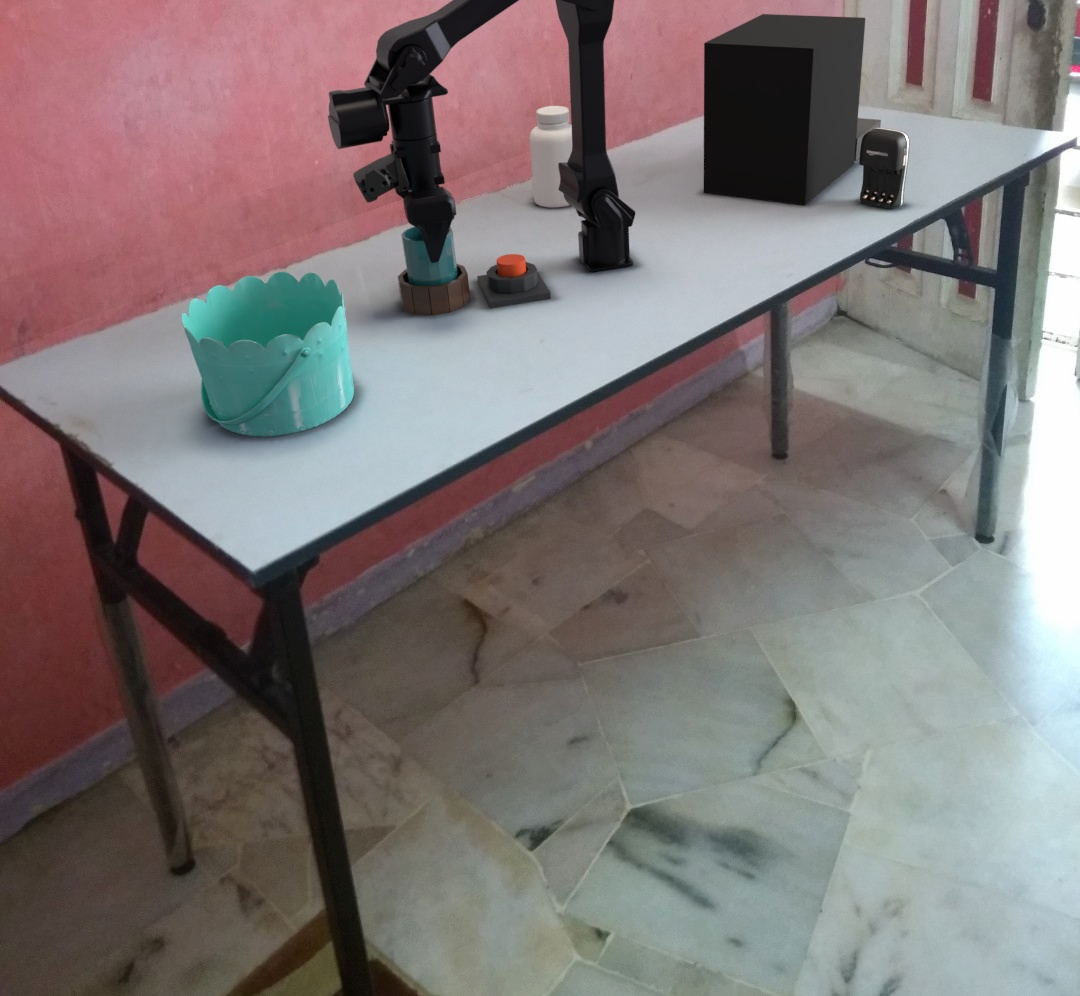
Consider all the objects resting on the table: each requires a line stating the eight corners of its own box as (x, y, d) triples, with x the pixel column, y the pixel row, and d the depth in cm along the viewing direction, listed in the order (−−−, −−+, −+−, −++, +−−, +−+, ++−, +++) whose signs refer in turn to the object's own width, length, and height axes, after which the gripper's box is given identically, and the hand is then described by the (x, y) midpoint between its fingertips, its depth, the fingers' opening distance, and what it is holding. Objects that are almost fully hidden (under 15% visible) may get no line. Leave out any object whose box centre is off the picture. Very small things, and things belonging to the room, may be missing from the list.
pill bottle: (577, 208, 188) (572, 115, 180) (529, 208, 190) (522, 116, 181) (585, 193, 194) (580, 102, 186) (539, 193, 196) (532, 103, 188)
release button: (495, 270, 161) (493, 256, 160) (522, 266, 161) (521, 252, 160) (500, 280, 157) (499, 266, 156) (529, 276, 158) (527, 262, 157)
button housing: (477, 282, 164) (475, 262, 163) (535, 273, 165) (533, 253, 164) (490, 308, 156) (488, 288, 154) (551, 299, 157) (549, 278, 156)
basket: (376, 420, 131) (358, 316, 124) (215, 457, 127) (187, 352, 120) (343, 355, 147) (325, 260, 140) (199, 386, 142) (173, 289, 135)
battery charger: (852, 204, 180) (858, 130, 174) (865, 197, 182) (871, 124, 176) (892, 212, 176) (899, 137, 170) (905, 205, 178) (912, 131, 172)
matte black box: (878, 144, 205) (891, 3, 192) (806, 205, 181) (814, 48, 168) (784, 136, 214) (790, 0, 201) (703, 193, 190) (704, 43, 177)
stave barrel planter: (463, 284, 164) (460, 257, 162) (474, 308, 156) (471, 281, 154) (398, 294, 163) (394, 267, 160) (406, 319, 155) (402, 292, 153)
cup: (455, 288, 163) (447, 220, 157) (463, 306, 157) (455, 236, 152) (408, 296, 162) (398, 228, 156) (415, 314, 156) (405, 244, 151)
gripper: (345, 125, 154) (364, 237, 162) (358, 163, 138) (378, 284, 147) (427, 114, 155) (441, 225, 164) (449, 150, 140) (463, 271, 148)
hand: (429, 250), depth 155 cm, fingers open, 9 cm apart
